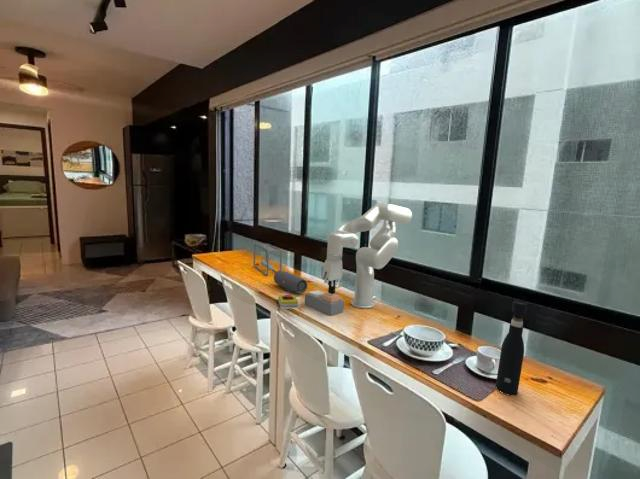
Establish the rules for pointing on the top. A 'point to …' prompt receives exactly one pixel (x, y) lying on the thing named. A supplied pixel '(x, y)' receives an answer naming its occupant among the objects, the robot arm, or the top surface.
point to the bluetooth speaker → (290, 282)
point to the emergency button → (288, 301)
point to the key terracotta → (331, 297)
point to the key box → (324, 305)
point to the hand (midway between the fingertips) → (331, 293)
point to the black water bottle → (512, 353)
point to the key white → (317, 293)
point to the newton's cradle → (267, 258)
